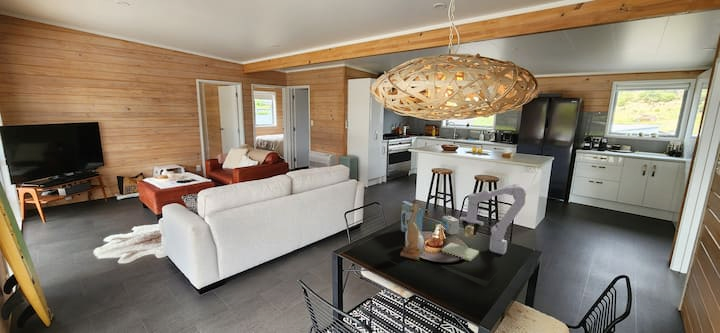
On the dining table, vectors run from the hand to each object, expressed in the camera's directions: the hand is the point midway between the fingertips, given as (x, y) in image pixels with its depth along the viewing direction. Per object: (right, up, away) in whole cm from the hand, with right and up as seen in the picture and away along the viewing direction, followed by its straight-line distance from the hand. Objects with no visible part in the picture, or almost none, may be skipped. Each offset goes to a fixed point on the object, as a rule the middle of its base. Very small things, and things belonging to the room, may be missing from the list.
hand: (470, 233), depth 188 cm
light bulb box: (-5, -5, +26) cm, 27 cm away
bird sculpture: (-39, -10, -12) cm, 42 cm away
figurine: (-37, -9, -6) cm, 38 cm away
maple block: (0, -2, 0) cm, 2 cm away
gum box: (-35, -6, +16) cm, 39 cm away
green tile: (-9, -10, -7) cm, 15 cm away
